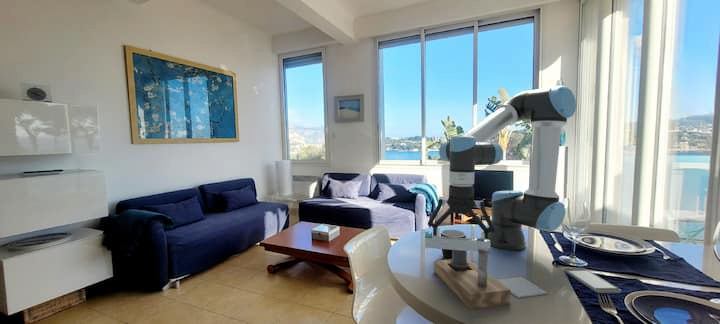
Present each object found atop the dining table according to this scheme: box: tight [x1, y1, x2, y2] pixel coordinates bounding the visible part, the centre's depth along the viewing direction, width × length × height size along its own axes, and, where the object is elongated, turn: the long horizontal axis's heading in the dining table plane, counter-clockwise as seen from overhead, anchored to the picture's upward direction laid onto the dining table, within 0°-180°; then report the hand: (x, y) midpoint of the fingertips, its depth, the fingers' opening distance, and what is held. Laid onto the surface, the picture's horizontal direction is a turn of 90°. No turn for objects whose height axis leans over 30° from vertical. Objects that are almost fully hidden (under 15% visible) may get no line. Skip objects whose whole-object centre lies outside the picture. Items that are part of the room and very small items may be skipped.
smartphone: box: [563, 267, 622, 294], centre depth 92 cm, size 7×1×15 cm
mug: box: [440, 228, 467, 260], centre depth 111 cm, size 12×9×10 cm
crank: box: [424, 231, 491, 254], centre depth 83 cm, size 18×4×4 cm, turn 77°
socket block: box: [433, 252, 512, 310], centre depth 89 cm, size 12×22×14 cm, turn 12°
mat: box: [497, 276, 548, 299], centre depth 88 cm, size 10×10×1 cm
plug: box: [451, 250, 468, 272], centre depth 94 cm, size 5×5×13 cm
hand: (459, 249), depth 93 cm, fingers open, 13 cm apart
